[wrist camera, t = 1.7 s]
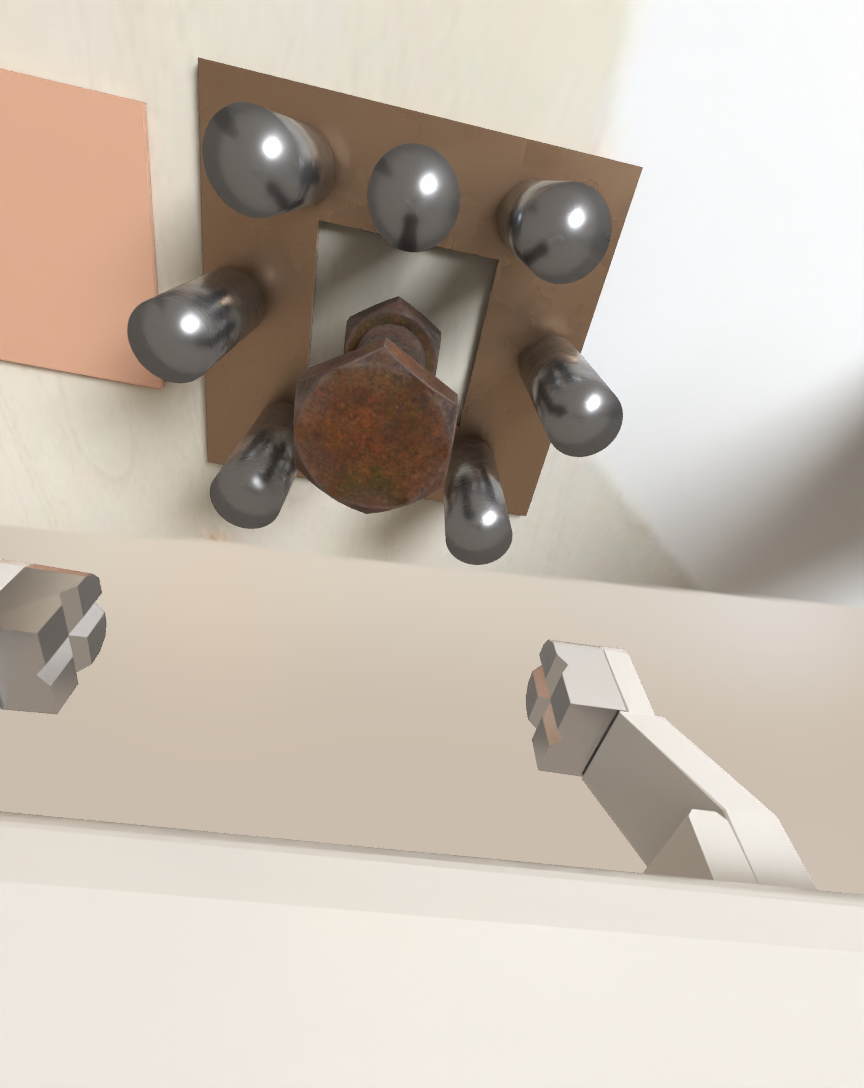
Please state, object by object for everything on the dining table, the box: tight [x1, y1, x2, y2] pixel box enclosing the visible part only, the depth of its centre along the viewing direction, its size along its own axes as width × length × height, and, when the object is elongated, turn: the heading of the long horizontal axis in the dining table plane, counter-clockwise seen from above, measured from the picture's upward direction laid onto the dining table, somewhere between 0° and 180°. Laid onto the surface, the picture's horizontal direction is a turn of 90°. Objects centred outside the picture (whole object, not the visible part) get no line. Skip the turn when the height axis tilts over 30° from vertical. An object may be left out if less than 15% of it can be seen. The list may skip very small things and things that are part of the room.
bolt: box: [294, 296, 458, 514], centre depth 24 cm, size 6×5×15 cm
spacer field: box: [127, 58, 643, 565], centre depth 27 cm, size 20×19×9 cm
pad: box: [0, 69, 164, 389], centre depth 28 cm, size 13×13×1 cm
